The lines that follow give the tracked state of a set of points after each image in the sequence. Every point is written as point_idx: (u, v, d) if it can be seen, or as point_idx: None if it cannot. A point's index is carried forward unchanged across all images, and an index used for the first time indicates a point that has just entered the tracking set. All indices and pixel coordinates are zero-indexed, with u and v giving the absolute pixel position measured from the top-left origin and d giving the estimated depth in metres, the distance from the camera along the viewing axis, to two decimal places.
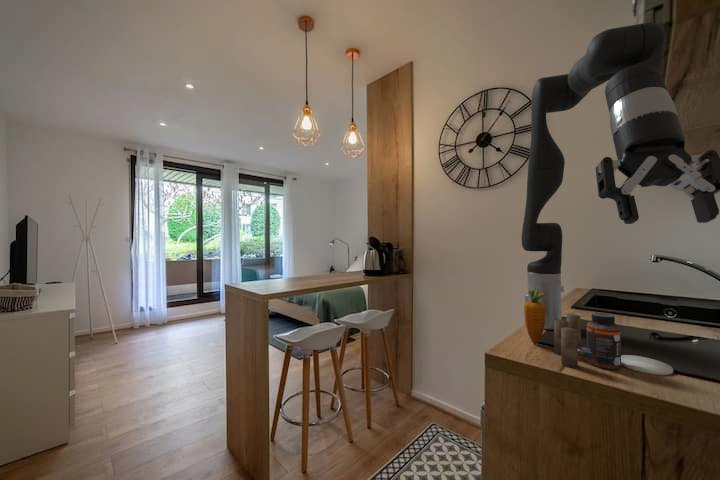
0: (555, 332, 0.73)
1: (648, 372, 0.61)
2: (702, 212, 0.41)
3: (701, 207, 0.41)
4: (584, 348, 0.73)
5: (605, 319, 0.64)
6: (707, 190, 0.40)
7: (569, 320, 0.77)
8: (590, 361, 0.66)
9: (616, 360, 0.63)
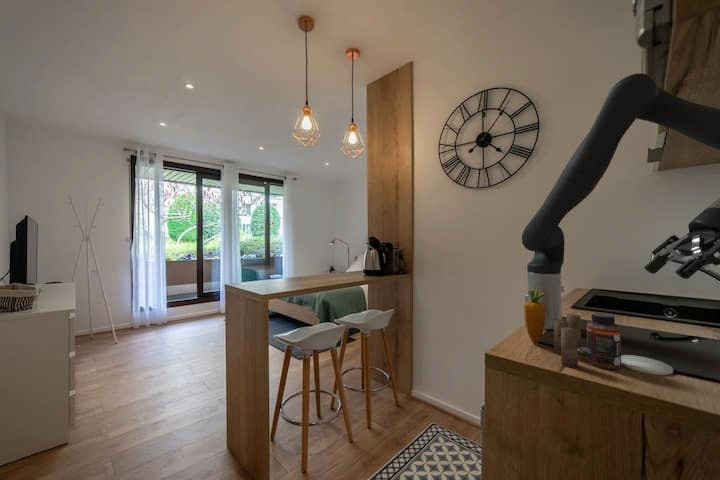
0: (555, 332, 0.73)
1: (648, 372, 0.61)
2: (654, 267, 0.67)
3: (657, 265, 0.67)
4: (585, 348, 0.73)
5: (605, 319, 0.64)
6: (666, 262, 0.67)
7: (569, 320, 0.77)
8: (590, 361, 0.66)
9: (616, 360, 0.63)
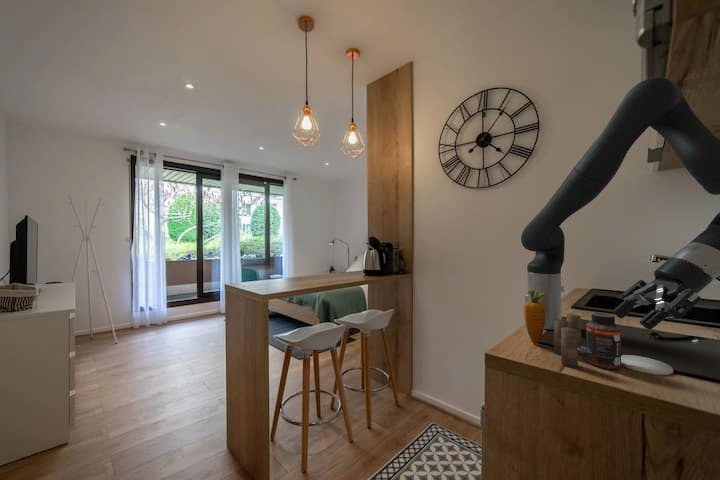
0: (555, 332, 0.73)
1: (648, 372, 0.61)
2: (622, 312, 0.69)
3: (624, 310, 0.69)
4: None
5: (605, 319, 0.64)
6: None
7: (569, 320, 0.77)
8: (590, 361, 0.66)
9: (616, 360, 0.63)
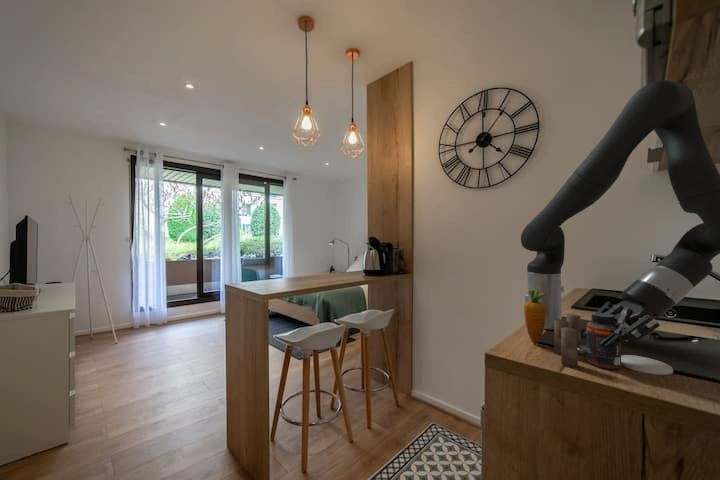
0: (555, 332, 0.73)
1: (648, 372, 0.61)
2: None
3: None
4: None
5: (605, 319, 0.64)
6: None
7: (569, 320, 0.77)
8: (590, 361, 0.66)
9: (616, 360, 0.63)
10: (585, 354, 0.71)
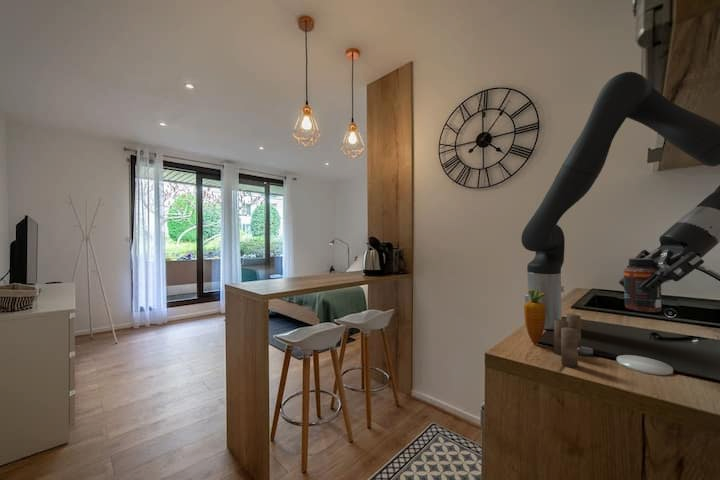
0: (555, 332, 0.73)
1: (648, 372, 0.61)
2: None
3: None
4: (581, 348, 0.72)
5: (644, 262, 0.63)
6: None
7: (569, 320, 0.77)
8: (629, 306, 0.65)
9: (657, 303, 0.62)
10: None
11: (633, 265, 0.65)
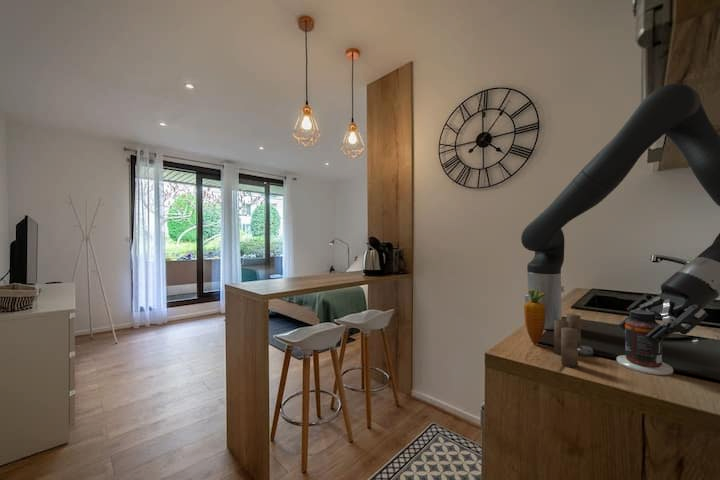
0: (555, 332, 0.73)
1: (648, 372, 0.61)
2: None
3: None
4: (578, 347, 0.74)
5: (646, 316, 0.64)
6: None
7: (569, 320, 0.77)
8: (630, 359, 0.65)
9: (658, 358, 0.62)
10: None
11: (635, 318, 0.65)
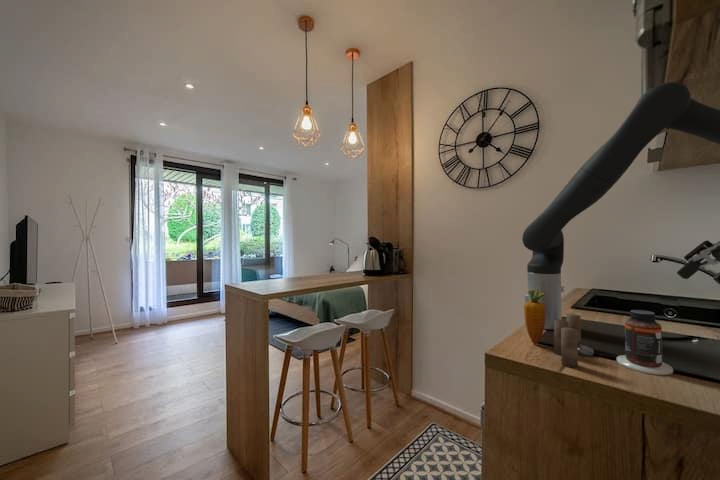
0: (555, 332, 0.73)
1: (648, 372, 0.61)
2: (687, 273, 0.67)
3: (690, 271, 0.67)
4: (583, 347, 0.73)
5: (646, 316, 0.64)
6: None
7: (569, 320, 0.77)
8: (630, 359, 0.65)
9: (658, 358, 0.62)
10: None
11: (634, 318, 0.65)
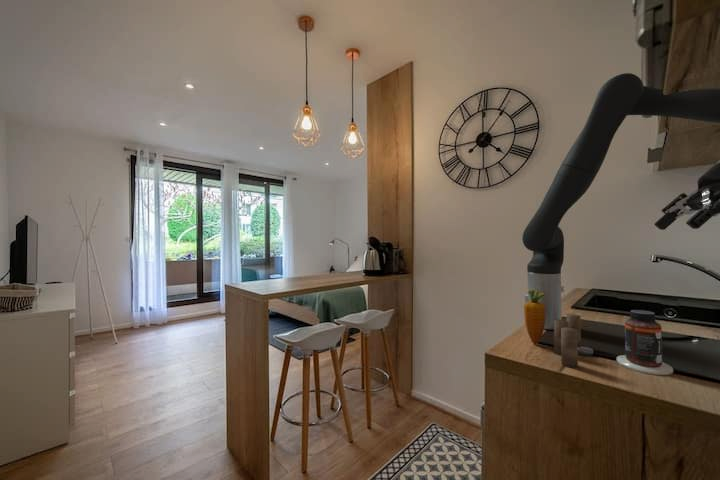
0: (555, 332, 0.73)
1: (648, 372, 0.61)
2: (664, 224, 0.70)
3: (667, 222, 0.70)
4: (587, 348, 0.73)
5: (646, 316, 0.64)
6: (676, 218, 0.70)
7: (569, 320, 0.77)
8: (630, 359, 0.65)
9: (658, 358, 0.62)
10: (591, 352, 0.71)
11: (634, 318, 0.65)
